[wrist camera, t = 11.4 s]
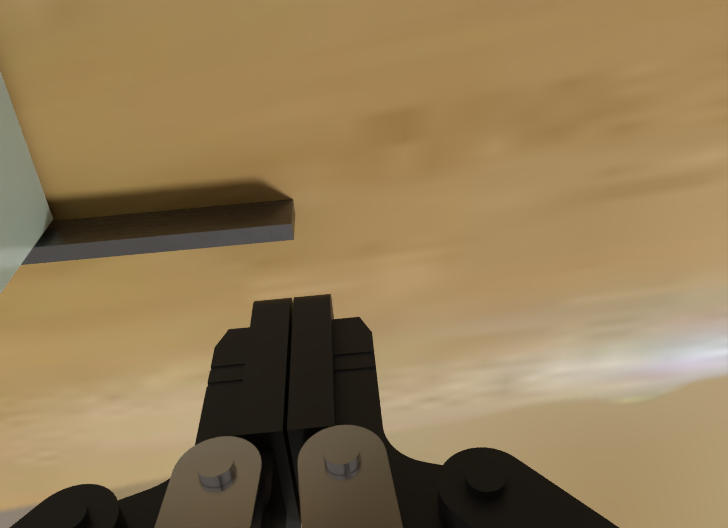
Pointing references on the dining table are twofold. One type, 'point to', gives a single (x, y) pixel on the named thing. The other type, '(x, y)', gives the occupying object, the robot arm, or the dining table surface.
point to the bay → (164, 231)
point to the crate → (17, 194)
